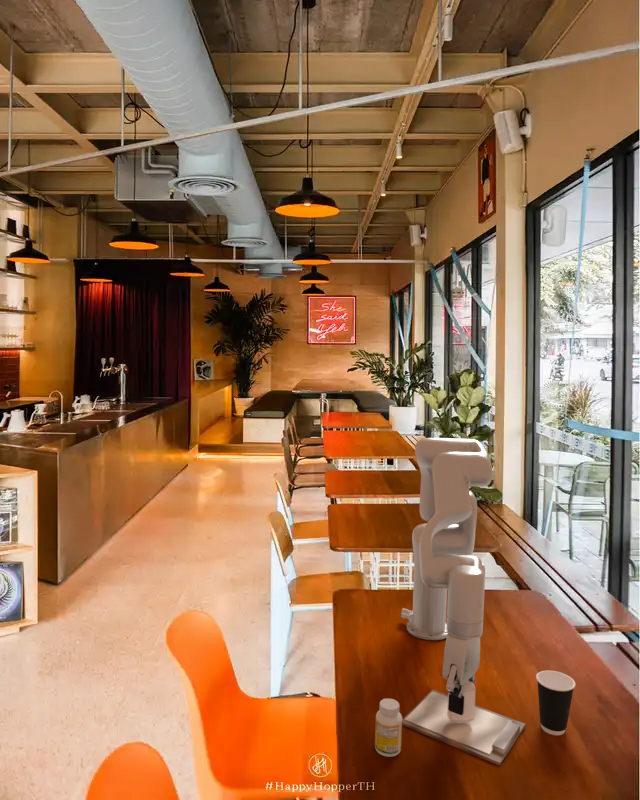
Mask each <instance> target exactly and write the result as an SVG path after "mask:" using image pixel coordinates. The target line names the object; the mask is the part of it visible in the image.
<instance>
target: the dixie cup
mask: <svg viewBox="0 0 640 800" xmlns="http://www.w3.org/2000/svg"><path fill="white" fill-rule="evenodd" d="M535 679H536V681H537V693H538V695H537V696H538V697H537V698H538V711H539V723H540V726H541V729H542V730H543V732H545V733H547V734H549V735H552V736H562V735H564V734H565V733H566V732H565V731H566V729H567V727H568V721H569V716H570V710H571V706H572V705H571V704H572V701H573V700H572V699H573V694H574V689H575V687H576V681H575V680H574V679H573V678H572V677H571V676H569V675H568V674H565V673H563V672H560V671H557V670H556V671H555V670H548V669H547V670H542V671H539V672H537V673H536V675H535Z"/></svg>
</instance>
